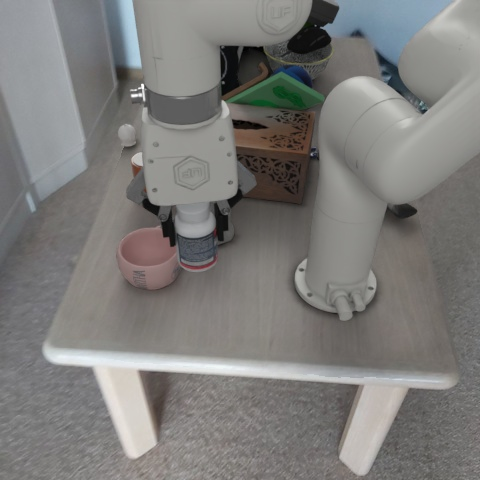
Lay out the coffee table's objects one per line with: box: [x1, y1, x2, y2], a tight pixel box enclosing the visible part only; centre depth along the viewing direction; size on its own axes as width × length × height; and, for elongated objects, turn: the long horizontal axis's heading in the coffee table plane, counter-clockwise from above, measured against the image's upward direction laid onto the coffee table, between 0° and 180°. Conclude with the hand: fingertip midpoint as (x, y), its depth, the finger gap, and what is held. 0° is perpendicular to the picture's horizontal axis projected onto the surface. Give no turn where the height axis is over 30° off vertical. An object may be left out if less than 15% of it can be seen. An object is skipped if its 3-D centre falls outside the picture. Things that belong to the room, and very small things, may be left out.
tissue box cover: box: [226, 103, 316, 205], centre depth 103 cm, size 26×14×10 cm, turn 79°
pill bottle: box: [173, 202, 219, 273], centre depth 69 cm, size 5×5×9 cm
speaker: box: [220, 46, 252, 96], centre depth 129 cm, size 15×29×15 cm, turn 173°
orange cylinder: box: [130, 151, 147, 193], centre depth 99 cm, size 5×5×8 cm
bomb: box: [270, 65, 314, 90], centre depth 121 cm, size 10×11×15 cm
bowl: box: [263, 37, 335, 81], centre depth 130 cm, size 16×16×8 cm
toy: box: [225, 71, 326, 111], centre depth 105 cm, size 22×3×10 cm
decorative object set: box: [117, 123, 138, 147], centre depth 113 cm, size 5×20×4 cm, turn 100°
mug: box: [116, 225, 183, 291], centre depth 86 cm, size 12×10×6 cm
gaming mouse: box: [281, 25, 332, 57], centre depth 125 cm, size 6×15×4 cm, turn 132°
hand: (195, 235), depth 69 cm, fingers closed on pill bottle, 5 cm apart
